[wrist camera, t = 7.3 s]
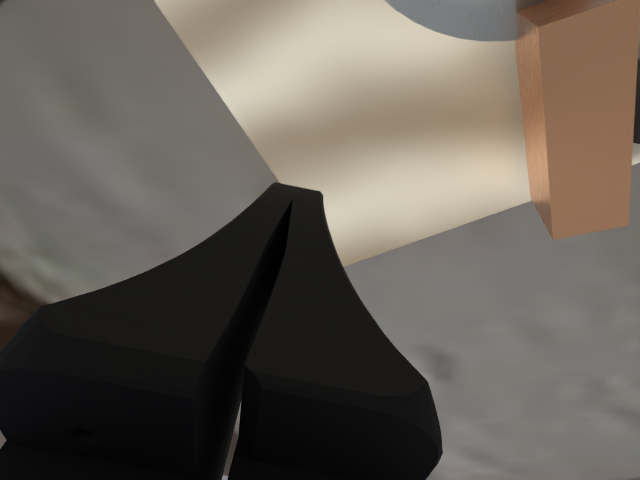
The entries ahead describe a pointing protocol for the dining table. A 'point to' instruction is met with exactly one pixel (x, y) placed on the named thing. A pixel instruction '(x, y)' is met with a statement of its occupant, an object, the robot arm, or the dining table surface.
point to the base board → (369, 112)
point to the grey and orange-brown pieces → (562, 96)
